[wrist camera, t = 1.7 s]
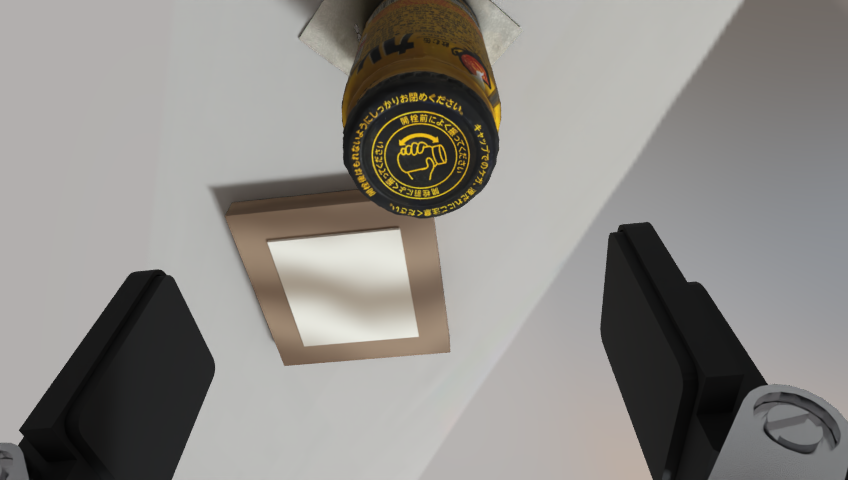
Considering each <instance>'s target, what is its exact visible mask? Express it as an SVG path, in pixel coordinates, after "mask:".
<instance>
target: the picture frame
mask: <svg viewBox="0 0 848 480" xmlns="http://www.w3.org/2000/svg"><path fill="white" fill-rule="evenodd" d="M225 218H226V220H227V223H228V225H229V228H230V231H231V233H232V236H233V238H234V241H235V243H236V246H237V248H238V251H239V253H240V256H241V258H242V261H243V263H244V266H245V268H246V271H247V273H248V276H249V278H250V281H251V283H252V286H253V288H254V291H255V293H256V296H257V298H258V301H259V303H260V306H261V308H262V311H263V313H264V316H265V318H266V321H267V323H268V326H269V328H270V331H271V333H272V336H273V338H274V341H275V343H276V346H277V348H278V351H279V353H280V356H281V358H282V361H283V363H284V366H289V365H301V364H313V363H326V362H338V361H350V360H362V359H374V358H386V357H398V356H411V355H423V354H435V353H447V352H450V337H449V329H448V321H447V314H446V306H445V298H444V291H443V283H442V275H441V267H440V260H439V252H438V244H437V237H436V229H435V221H434V217H432V218H425V219H419V218H415V217H411V216H404V215H396V214H393V213H392V212H389V211H387V210H385V209H384V208H382V207H379V206H378V205H376V204H375V203H374V202H372V201H371V200H369V199H368V198H367V197H366V196H365V195H363V194H362V193H361V192H360V191H359V189H358V190H348V191H338V192H329V193H319V194H310V195H300V196H290V197H281V198H271V199H262V200H252V201H242V202H233V203H232V204H231V206H230V207H229V209H228V211H227V213H226V215H225Z"/></svg>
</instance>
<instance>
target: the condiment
mask: <svg viewBox="0 0 848 480" xmlns="http://www.w3.org/2000/svg"><path fill="white" fill-rule="evenodd" d="M355 24H357V25H358V28H359V34H360V35H361V39H360V42H359V41H358V37H357V34H358V33H356V31H355V29H354V25H355ZM522 31H523V30H522V29H521V28H520V27H519V26H517V25H516V24H515V23H514V22H513V21H512V20H511V19H510V18H509V17H508V16H506V15H505V14H504V13H503V12H502V11H501V10H500V9H499V8H498V7H497V6H495V5H494V4H493V3H492V2H491V1H490V0H324V1H323V2H322V4H321V5H320V7H319V8H318V10H317V11H316V13H315V15H314V16H313V18H312V19H311V21H310V22H309V24H308V25H307V27H306V29H305V30H304V32H303V33H302V35H301V36H300V38H299V40H300V41H302V42H303V43H304V44H306V45H307V46H308V47H310V48H311V49H312V50H314V51H315V52H316V53H318V54H319V55H321V56H322V57H324V58H325V59H326V60H327V61H329V62H330V63H331V64H332V65H334V66H335V67H337V68H339V69H340V70H341V71H343V72H344V73H345V74H346V75H348V76H349V78H348V81H347V84H346V87H345V91H344V95H343V101H342V123H343V128H344V130H343V134H344V137H343V160H344V165H345V167H346V168H347V170H348V172H349V174H350V175H351V177H352V179H353V181H354V182H355V184H356V185H357V187H358V189H359V191H360V192H361V193H362V194H363V195H365V196H366V197H367V198H368V199H369V200H371V201H372V202H374V203H375V204H376V205H378V206H379V207H382V208H384V209H385V210H387V211H389V212H392V213H393V214H396V215H404V216H411V217H415V218H419V219H425V218H432V217H437V216H441V215H444V214H447V213H450V212H452V211H455V210H457V209H459V208H461V207H462V206H464V205H465V204H466V203H468V202H469V201H470V200H471V199H472V198H474V197H475V196H476V195H477V194H478V193H479V192H481V191H482V190H483V188H484V187H485V186H486V184H487V183H488V181H489V179H490V177H491V174H492V171H493V169H494V167H495V165H496V158H497V154H498V151H499V136H498V131H499V125H500V121H501V102H500V99H499V94H498V89H497V86H496V83H495V79H494V75H493V71H492V68H491V66H492V65H493V64H494V63H495V62H496V61H497V59H498V58H499V57H500V56H501V55H502V54H503V53H504V52H505V50H506V49H507V48H508V47H509V46H510V45H511V44H512V43H513V41H514V40H515V39H516V38H517V37H518V36H519V34H520V33H521V32H522Z"/></svg>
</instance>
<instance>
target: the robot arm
mask: <svg viewBox="0 0 848 480" xmlns="http://www.w3.org/2000/svg"><path fill="white" fill-rule="evenodd" d="M600 329H601V337H602V342H603V345H604V348H605V351H606V353H607V356H608V359H609V362H610V364H611V367H612V370H613V373H614V375H615V378H616V381H617V383H618V386H619V389H620V392H621V394H622V397H623V400H624V402H625V405H626V408H627V411H628V413H629V416H630V419H631V421H632V424H633V427H634V430H635V432H636V435H637V438H638V440H639V443H640V446H641V449H642V451H643V454H644V457H645V459H646V462H647V465H648V468H649V470H650V473H651V476H652V478H653V480H848V422H847V420H846V419H845V418H844V417H843V416H842V415H841V413H840V412H839V411H838V410H837V409H836V408H835V407H833V406H832V405H831V404H829V403H828V402H827V401H826V400H824V399H823V398H821V397H819V396H817V395H815V394H813V393H811V392H809V391H807V390H804V389H800V388H797V387H793V386H790V385H778V384H772V385H768V384H767V383H766V381H765V379H764V378H763V376H762V375H761V373H760V372H759V370H758V369H757V367H756V366H755V364H754V363H753V361H752V360H751V358H750V357H749V355H748V353H747V352H746V350H745V349H744V348H743V346H742V344H741V343H740V341H739V340H738V338H737V337H736V335H735V334H734V332H733V331H732V329H731V327H730V326H729V324H728V323H727V321H726V320H725V318H724V317H723V315H722V314H721V312H720V311H719V309H718V308H717V306H716V305H715V303H714V301H713V300H712V298H711V297H710V295H709V294H708V292H707V291H706V289H705V288H704V287H703V286H702V285H701V284H700V283H698V282H687V281H686V279H685V278H684V276H683V274H682V273H681V271H680V270H679V268H678V267H677V265H676V263H675V262H674V260H673V258H672V257H671V255H670V254H669V252H668V250H667V249H666V247H665V246H664V244H663V242H662V241H661V239H660V238H659V236H658V234H657V233H656V231H655V230H654V228H653V226H652V225H651V224H650V223H649V222H644V223H633V224H623V225H620V226H619V228H618V231H617V232H613V233H610V235H609V239H608V250H607V261H606V272H605V283H604V294H603V305H602V315H601V328H600ZM214 373H215V363H214V359H213V357H212V355H211V353H210V351H209V349H208V347H207V345H206V343H205V341H204V339H203V337H202V335H201V333H200V330H199V328H198V326H197V324H196V322H195V320H194V318H193V316H192V314H191V312H190V310H189V308H188V306H187V304H186V302H185V300H184V298H183V296H182V294H181V292H180V290H179V288H178V286H177V284H176V282H175V280H174V278H173V277H172V276H170V275H166V274H165V272H163V271H162V270H159V269H158V270H148V271H138V272H133V273H131V274H130V275H129V276H128V277H127V278H126V280H125V281H124V283H123V284H122V286H121V287H120V288H119V290H118V291H117V293H116V294H115V295H114V297H113V298H112V300H111V301H110V303H109V304H108V305H107V307H106V308H105V310H104V311H103V312H102V314H101V315H100V317H99V318H98V320H97V321H96V322H95V324H94V325H93V327H92V328H91V329H90V331H89V332H88V333H87V335H86V336H85V338H84V339H83V341H82V342H81V343H80V345H79V346H78V348H77V349H76V350H75V352H74V353H73V355H72V356H71V358H70V359H69V360H68V362H67V363H66V365H65V366H64V367H63V369H62V370H61V372H60V373H59V374H58V376H57V377H56V379H55V380H54V381H53V383H52V384H51V386H50V388H48V390H47V391H46V393H45V394H44V396H43V397H42V398H41V400H40V401H39V403H38V404H37V405H36V407H35V408H34V410H33V411H32V412H31V414H30V415H29V417H28V418H27V419H26V421H25V423H24V424H23V425H22V427H21V428H20V429H19V431H20V432H21V433H22V434H23V435H24V437H23V439H22V440H21V442H20V443H19V445H18V446H17V445H15V444H12V443H0V480H172V478H173V475H174V473H175V470H176V468H177V465H178V463H179V460H180V458H181V455H182V453H183V450H184V448H185V446H186V443H187V441H188V438H189V436H190V433H191V431H192V428H193V426H194V423H195V421H196V419H197V416H198V414H199V411H200V409H201V406H202V404H203V401H204V399H205V396H206V394H207V391H208V389H209V387H210V384H211V382H212V379H213V377H214Z"/></svg>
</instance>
